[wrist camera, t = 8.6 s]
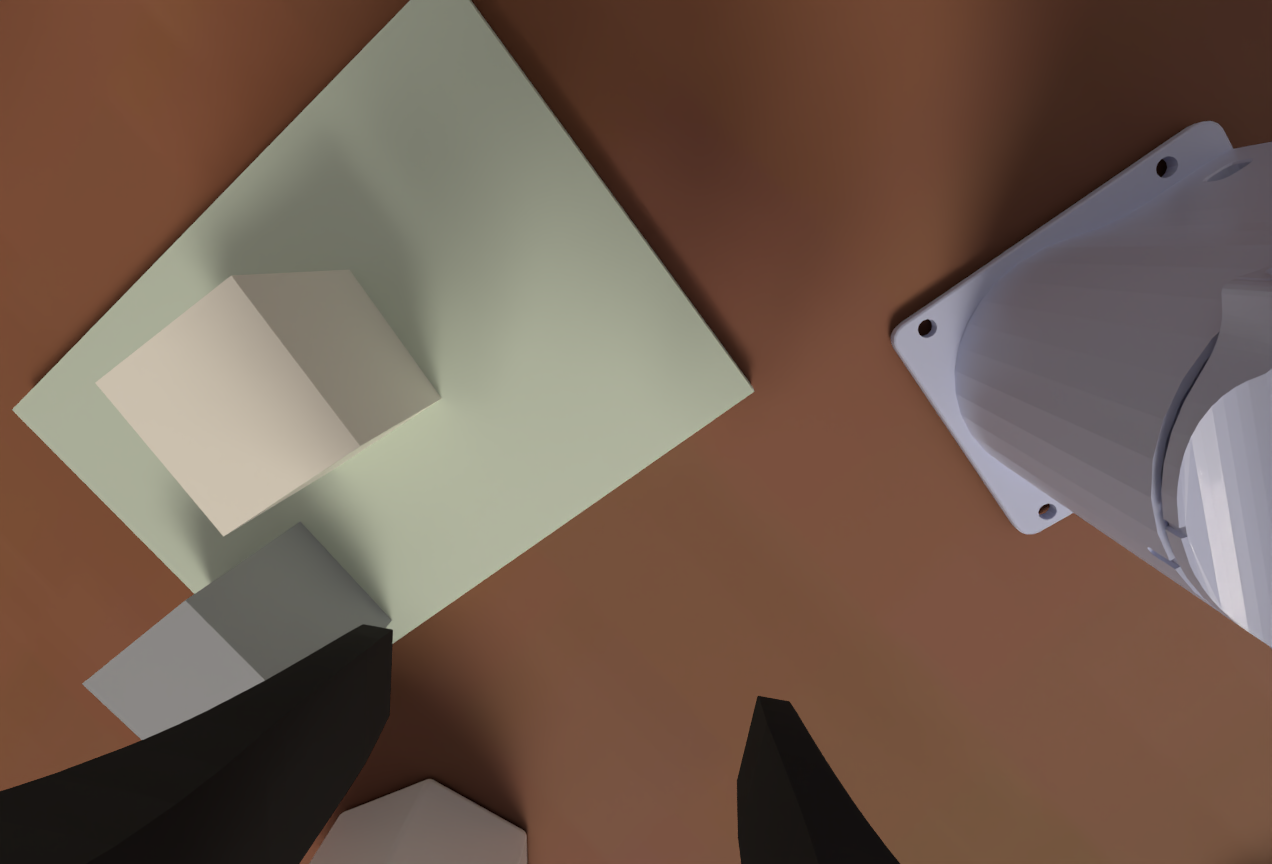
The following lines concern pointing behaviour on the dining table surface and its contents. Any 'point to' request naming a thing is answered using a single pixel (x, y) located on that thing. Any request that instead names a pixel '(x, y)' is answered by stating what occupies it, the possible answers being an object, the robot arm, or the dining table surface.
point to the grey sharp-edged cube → (235, 634)
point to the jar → (422, 831)
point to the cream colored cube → (267, 389)
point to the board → (424, 325)
